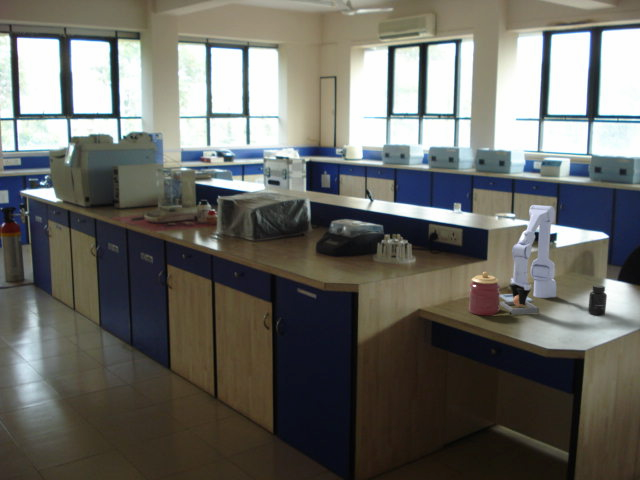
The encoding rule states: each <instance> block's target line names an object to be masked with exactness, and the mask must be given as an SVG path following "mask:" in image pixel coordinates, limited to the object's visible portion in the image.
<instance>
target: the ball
mask: <svg viewBox="0 0 640 480" xmlns="http://www.w3.org/2000/svg"><path fill="white" fill-rule="evenodd" d="M513 302H514V304H515V305H514V306H517V307H523V306H525V304H519V295H516V296H515V297H514V299H513Z"/></svg>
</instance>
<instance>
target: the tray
mask: <svg viewBox="0 0 640 480" xmlns="http://www.w3.org/2000/svg"><path fill="white" fill-rule="evenodd" d="M525 305H526V306H527V307H517V308H516V307H514V308H513V307H512V306H516V305H515V304H514V302H513V301H499V306H501V307H502V308H504V309H506V310H507V311H508V313H509V314H510V315H529V314H539V310H540V309H539V307H537V306H536V305H534V304H533V303H532V302H531V303H530V302H527V301H525V304H524V306H525Z"/></svg>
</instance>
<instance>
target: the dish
mask: <svg viewBox="0 0 640 480" xmlns="http://www.w3.org/2000/svg"><path fill="white" fill-rule="evenodd" d="M500 298H501V299H503V300H505V302H508V301H513V294H512V293H508V294H507V293H505V294H500ZM526 301H527V302H529V303H530V302H531V303H532V302H533V301H534V300H533V299H532V298H530V297H528V296H527V298H526Z"/></svg>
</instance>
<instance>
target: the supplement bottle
mask: <svg viewBox="0 0 640 480" xmlns="http://www.w3.org/2000/svg"><path fill="white" fill-rule="evenodd" d="M605 291H606V287H605V286H604V285H601V284H600V285H599V284H594V285H592V291H591V292H590V293H589V295H588V296H589V297H588V298H589V299H588V306H587V308H588V309H587V312H588V314H590V315H593V316H605V314H606V309H607V298H608V296H607V293H606V292H605Z"/></svg>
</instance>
